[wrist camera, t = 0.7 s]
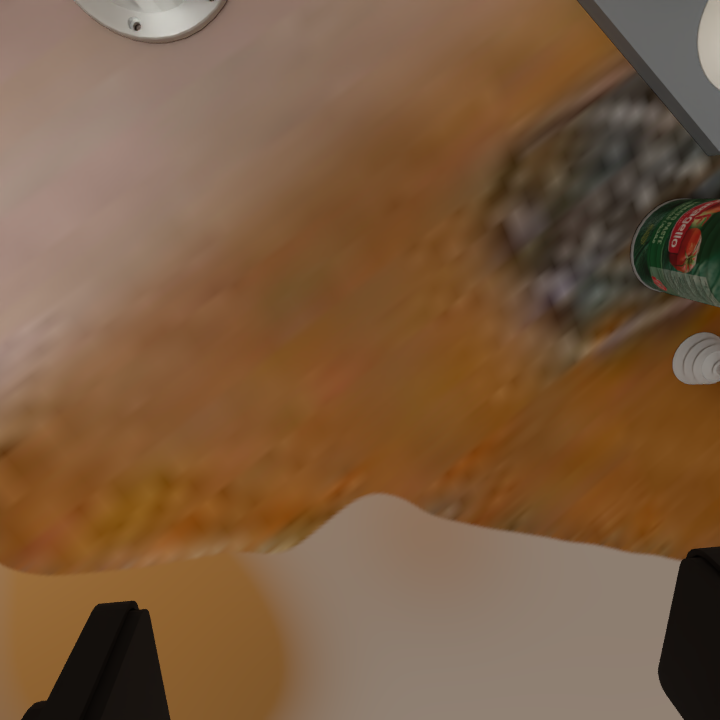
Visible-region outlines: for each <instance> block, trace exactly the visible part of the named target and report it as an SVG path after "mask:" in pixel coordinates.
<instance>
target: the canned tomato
mask: <svg viewBox="0 0 720 720" xmlns="http://www.w3.org/2000/svg"><path fill="white" fill-rule="evenodd" d="M630 257H631V265H632V268H633V271H634V273H635V275H636V276H637V278H638V279H639V280H640V281H641V282H642V283H643V284H644V285H645V286H647V287H648V288H650V289H652V290H655V291H658V292H665V293H668V294H671V295H676V296H679V297H683V298H687V299H690V300H695V301H698V302H702V303H705V304H710V305H713V306H717V307H720V199H688V198H681V199H674V200H671V201H667V202H665V203H663V204H661V205H659V206H657V207H656V208H655V209H654V210H652V211H651V212H650V213H649V214H648V215H647V216H646V217H645V218H644V219H643V220H642V222H641V224H640V225H639V227H638V228H637V230H636V232H635V235H634V237H633V241H632V244H631V253H630Z"/></svg>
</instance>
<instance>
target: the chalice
mask: <svg viewBox="0 0 720 720" xmlns="http://www.w3.org/2000/svg"><path fill="white" fill-rule="evenodd" d="M673 370H674V374H675V376H676V377H677V378H678V379H679V380H680V381H682V382H684V383H686V384H693V385H694V384H713V383H716V382H718V381H720V338H719V337H718V336H716V335H715V334H713V333H707V332H703V333H698V334H695V335H693V336H691V337H689V338H687V339H686V340H685V341H684V342H683V343H682V344H681V345H680V346H679V348H678V349H677V351H676V353H675V355H674V358H673Z"/></svg>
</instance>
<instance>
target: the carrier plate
mask: <svg viewBox="0 0 720 720" xmlns="http://www.w3.org/2000/svg"><path fill="white" fill-rule="evenodd" d="M577 1H578V2H579V3H580V4H581V5H582V7H583V8H584V9H585V10H586V11H587V12H588V14H589V15H590V16H591V17H592V18H593V20H594V21H595V22H596V23H597V24H598V26H599V27H600V28H601V29H602V30H603V32H604V33H605V34H606V35H607V36H608V37H609V39H610V40H611V41H612V42H613V43H614V45H615V46H616V47H617V48H618V49H619V51H620V52H621V53H622V54H623V55H624V56H625V58H626V59H627V60H628V61H629V62H630V64H631V65H632V66H633V67H634V68H635V70H636V71H637V72H638V73H639V74H640V75H641V77H642V78H643V79H644V80H645V81H646V83H647V84H648V85H649V86H650V87H651V89H652V90H653V91H654V92H655V93H656V95H657V96H658V97H659V98H660V99H661V100H662V102H663V103H664V104H665V105H666V106H667V108H668V109H669V110H670V111H671V112H672V114H673V115H674V116H675V117H676V118H677V119H678V121H679V122H680V123H681V124H682V125H683V127H684V128H685V129H686V130H687V131H688V133H689V134H690V135H691V136H692V137H693V138H694V140H695V141H696V142H697V143H698V144H699V146H700V147H701V148H702V149H703V150H704V152H705V153H706V154H707V155H708V156H711V155H720V0H577Z"/></svg>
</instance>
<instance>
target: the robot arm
mask: <svg viewBox="0 0 720 720" xmlns="http://www.w3.org/2000/svg"><path fill="white" fill-rule="evenodd" d="M74 1H75V3H76V4H77V5H78V6H79V7H80V8H81V9H82V10H83V11H84V12H85V13H87V14H88V15H89V16H90V17H92V18H93V19H94V20H95V21H97V22H98V23H99V24H101V25H103V26H104V27H106V28H108V29H109V30H111V31H113V32H114V33H116V34H119V35H121V36H124V37H127V38H129V39H132V40H136V41H142V42H148V43H163V42H172V41H175V40H179V39H183V38H186V37H188V36H190V35H192V34H194V33H196V32H197V31H199V30H201V29H202V28H203V27H205V26H206V25H207V24H208V23H209V22H210V21H212V20H213V19H214V18H215V16H216V15H217V14H218V12H219V11H220V10H221V9H222V7H223V6H224V5H225V3H226V1H227V0H215V1H213V2H211V1H209V0H74ZM137 24H140V25H141V29H140V30H139V31H136V30H135V26H136V25H137ZM658 675H659V680H660V683H661V686H662V688H663V690H664V692H665V693H666V695H667V696H668V698H669V699H670V701H671V702H672V703H673V705H674V706H675V707H676V709H677V711H678V712H679V713H680V715H681V716H682V718H683V719H684V720H720V547H709V548H698V549H692V550H691V551H689V552H688V554H687V557H686V559H683V560H682V561H681V564H680V567H679V572H678V577H677V582H676V587H675V591H674V596H673V601H672V605H671V610H670V615H669V620H668V624H667V629H666V634H665V639H664V643H663V648H662V653H661V658H660V663H659V667H658ZM21 720H170V715H169V710H168V705H167V700H166V695H165V690H164V685H163V680H162V675H161V670H160V665H159V660H158V655H157V649H156V645H155V640H154V634H153V629H152V624H151V619H150V615H149V611H148V610H147V609H142V610H139V608H138V605H137V603H136V602H135V601H125V602H114V603H103V604H98V605H97V606H95V608H94V609H93V611H92V612H91V615H90V616H89V618H88V620H87V622H86V624H85V626H84V628H83V630H82V632H81V634H80V636H79V638H78V640H77V642H76V644H75V646H74V648H73V650H72V652H71V654H70V656H69V658H68V660H67V662H66V664H65V666H64V668H63V670H62V672H61V674H60V676H59V678H58V680H57V682H56V684H55V686H54V688H53V690H52V692H51V694H50V696H49V698H48V699H47V701H40V702H37V703H34V704H33V705H32V706H31V707H30V708H29V709H28V710H27V712H26V713H25V715H24V716H23V718H22V719H21Z"/></svg>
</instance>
